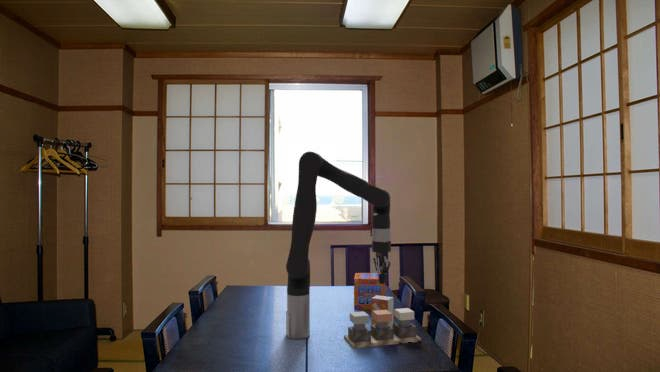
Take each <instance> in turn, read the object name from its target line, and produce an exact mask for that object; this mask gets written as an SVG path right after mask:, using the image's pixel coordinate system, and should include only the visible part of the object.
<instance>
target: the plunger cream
mask: <svg viewBox="0 0 660 372" xmlns="http://www.w3.org/2000/svg"><path fill="white" fill-rule="evenodd" d="M393 314H394V318H396V320H397V321H398V322H397V323H398V325H399V326H400V327H409V326H410V323H411V320H415V311H414V310H413V309H410V308H409V307H405V308H404V307H403V308H393Z"/></svg>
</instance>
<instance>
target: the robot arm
mask: <svg viewBox="0 0 660 372" xmlns="http://www.w3.org/2000/svg"><path fill="white" fill-rule="evenodd" d="M318 177H320V178H322V179H325V180H328V181H329V182H332V183H333V184H335V185H337V186H338V187H339V188H341V189H343V190H345V191H346V192H349V193H350V194H353V196H356V197H358V198H361V199H363V200H364V201H366V202H368V203H369V204H370V205H372V206H373V207H372V208H373V209H372V210H373V214H372V219H371V221H372V226H371V227H372V229H371V230H372V231H371V251H372V252H373V253H375V257H373V259H372V260H373V263H374V268H375V272H377V273H378V282H379V283H380V284H384V283H385V284H386V274H388V272H389V269H390V266H391V262H390V261H388V260H389V257H388V253H391V252H392V245H391V244H392V239H391V237H392V233H391V232H392V231H391V216H390V212H391V195H390V193H389V191H387V190H386V189H382V188H379V187H377V186H376V185H373V184H371V183H369V182H368V181H366V180H364V179H363V178H361V177H359V176H357V175H355V174H353V173H350V172H348V171H346V170H343V169H341V168H339V167H337V166H335V165H333V164H332V163H331V162H330V161H328V160H326V159H325V158H323V157H322V156H321V155H320V154H319V153H317V152H314V151H306V152H304V153H303V154H302V155H301V156H300V157H299V161H298V178H297V179H298V180H297V181H298V182H297V189H296V195H295V201H294V207H293V214H292V222H291V224H292V225H291V242H290V247H289V251H288V257H287V261H286V265H285V270H286V272H287V286H286V302H287V303H286V312H285V326H286V327H285V330H286V331H285V334H286V336H287V338H288V339H294V340H302V339H306V338H309V337H310V335H311V331H310V329H311V327H310V326H311V322H310V321H311V320H310V319H311V316H310V315H311V313H310V308H311V306H310V301H311V300H310V296H311V295H310V294H311V293H310V289H311V262H310V260H309V248H310V242H311V239H312V236H313V233H314V228H315V225H316V218H317V211H318V210H317V209H318V208H317V207H318V204H317V203H318V202H317V201H318V200H317V194H316V191H317V189H316V187H317V186H316V185H317V181H318Z"/></svg>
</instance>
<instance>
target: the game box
mask: <svg viewBox="0 0 660 372" xmlns="http://www.w3.org/2000/svg"><path fill="white" fill-rule="evenodd" d="M376 295H379V296H386V282H385V283H384V284H380V283H379V282H378V272H355V274H354V278H353V310H358V311H359V310H360V311H362V310H363V311H371V298H372V297H374V296H376Z"/></svg>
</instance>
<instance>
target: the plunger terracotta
mask: <svg viewBox="0 0 660 372" xmlns="http://www.w3.org/2000/svg"><path fill="white" fill-rule="evenodd" d="M372 318H373V319H374V320H375V321H376V328H378V329H386V328H388V322H389V321H392V313H390V312H389V311H387V310H376V311H372Z"/></svg>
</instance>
